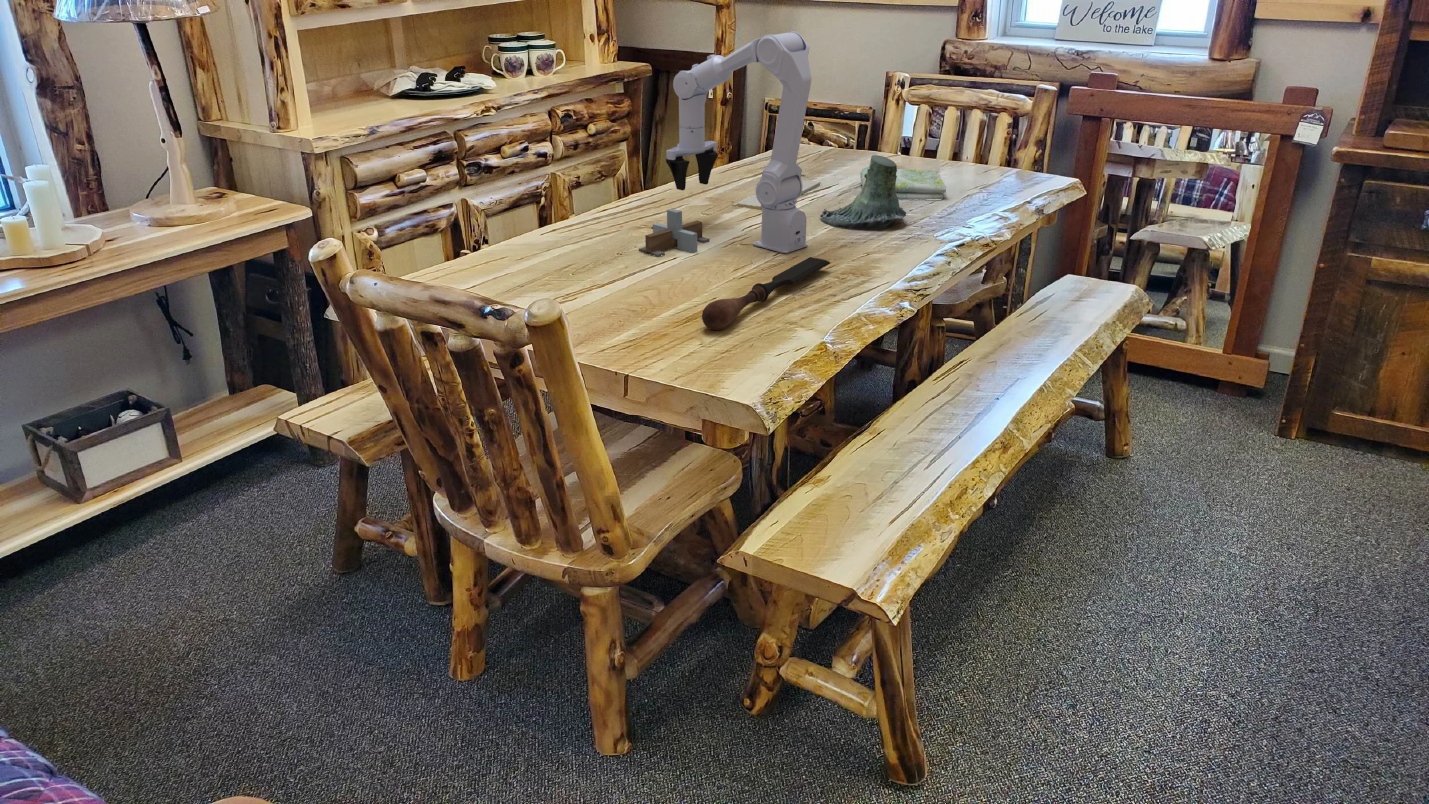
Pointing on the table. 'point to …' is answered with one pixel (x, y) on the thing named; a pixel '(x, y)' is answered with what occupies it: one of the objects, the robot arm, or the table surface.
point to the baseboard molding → (755, 204)
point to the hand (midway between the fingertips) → (692, 186)
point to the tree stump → (871, 200)
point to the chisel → (757, 294)
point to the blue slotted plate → (678, 231)
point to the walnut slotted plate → (669, 239)
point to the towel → (915, 184)
